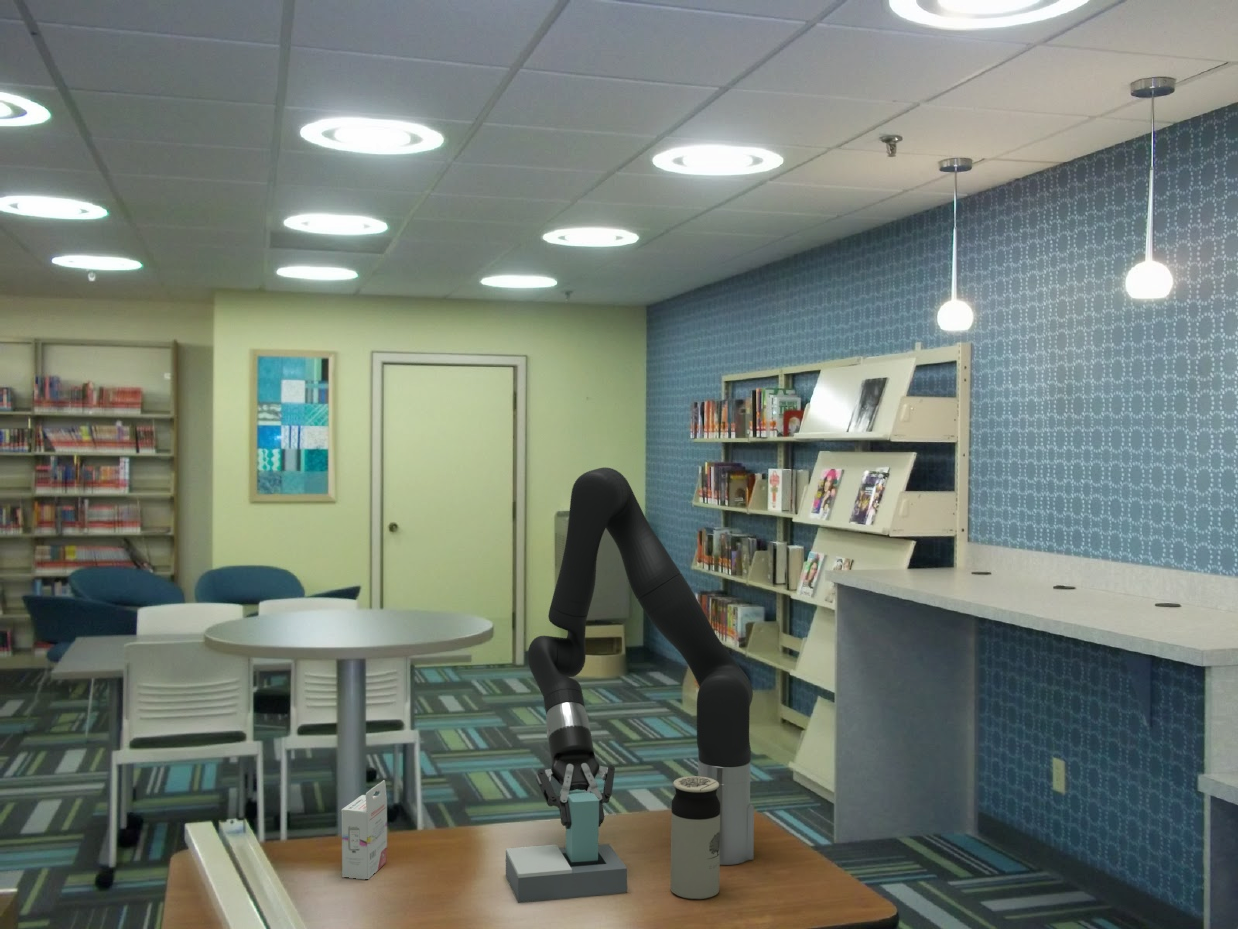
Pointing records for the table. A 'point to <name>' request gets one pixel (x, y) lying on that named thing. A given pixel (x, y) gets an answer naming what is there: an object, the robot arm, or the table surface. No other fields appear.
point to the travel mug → (695, 838)
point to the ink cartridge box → (365, 834)
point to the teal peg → (583, 827)
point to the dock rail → (563, 873)
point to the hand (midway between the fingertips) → (584, 825)
